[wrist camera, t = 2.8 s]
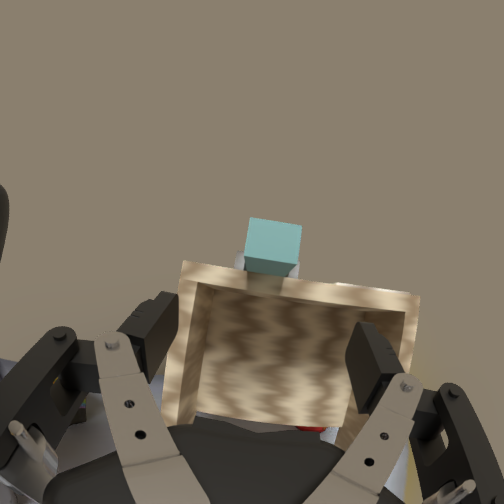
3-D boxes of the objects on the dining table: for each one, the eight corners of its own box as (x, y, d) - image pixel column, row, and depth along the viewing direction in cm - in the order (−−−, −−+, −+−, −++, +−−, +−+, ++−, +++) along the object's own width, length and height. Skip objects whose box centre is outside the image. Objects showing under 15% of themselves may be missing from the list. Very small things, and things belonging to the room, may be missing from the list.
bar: (243, 255, 21) (250, 217, 21) (249, 281, 42) (252, 262, 43) (297, 264, 21) (302, 225, 21) (275, 285, 42) (278, 266, 43)
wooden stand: (155, 494, 24) (187, 242, 30) (179, 451, 38) (207, 262, 44) (359, 511, 23) (421, 279, 29) (336, 469, 36) (376, 288, 43)
